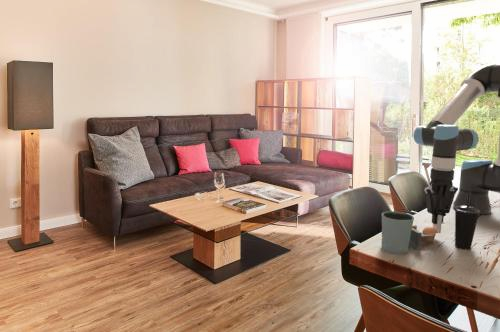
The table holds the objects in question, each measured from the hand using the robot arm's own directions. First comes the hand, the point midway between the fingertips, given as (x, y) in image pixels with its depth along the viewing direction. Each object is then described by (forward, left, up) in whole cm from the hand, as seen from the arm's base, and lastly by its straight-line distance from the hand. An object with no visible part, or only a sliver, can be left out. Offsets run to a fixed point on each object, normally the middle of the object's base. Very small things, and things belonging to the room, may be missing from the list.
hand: (436, 231), depth 145 cm
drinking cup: (-4, +9, -3) cm, 10 cm away
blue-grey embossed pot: (+20, +6, -3) cm, 21 cm away
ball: (+3, 0, 0) cm, 3 cm away
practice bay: (+9, +1, -2) cm, 10 cm away
